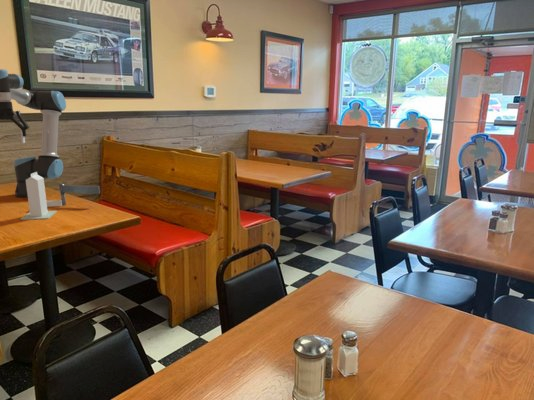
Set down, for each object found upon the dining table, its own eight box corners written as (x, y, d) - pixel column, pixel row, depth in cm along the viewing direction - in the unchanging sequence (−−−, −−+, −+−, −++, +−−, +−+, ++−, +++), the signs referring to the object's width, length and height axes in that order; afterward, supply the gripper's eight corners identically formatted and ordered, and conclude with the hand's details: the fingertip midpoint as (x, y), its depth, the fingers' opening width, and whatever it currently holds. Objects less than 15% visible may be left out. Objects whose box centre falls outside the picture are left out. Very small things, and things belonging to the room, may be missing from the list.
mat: (30, 212, 218) (30, 211, 218) (56, 211, 220) (56, 210, 220) (20, 219, 206) (20, 218, 206) (48, 218, 208) (48, 217, 208)
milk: (30, 216, 210) (24, 173, 204) (36, 212, 216) (30, 171, 210) (42, 216, 210) (36, 173, 204) (48, 213, 216) (42, 171, 210)
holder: (40, 205, 233) (39, 193, 231) (66, 204, 235) (65, 192, 233) (32, 211, 220) (30, 199, 218) (58, 210, 222) (57, 198, 221)
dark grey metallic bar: (59, 193, 231) (58, 184, 230) (61, 192, 234) (60, 183, 232) (98, 194, 229) (97, 186, 228) (100, 193, 232) (99, 185, 230)
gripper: (-29, 101, 202) (-21, 144, 208) (27, 101, 207) (33, 143, 213) (-22, 100, 209) (-15, 142, 215) (32, 100, 214) (37, 141, 220)
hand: (9, 143), depth 214 cm, fingers open, 13 cm apart
